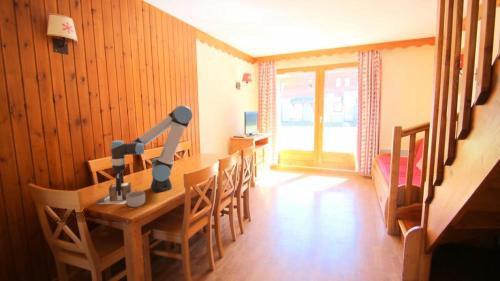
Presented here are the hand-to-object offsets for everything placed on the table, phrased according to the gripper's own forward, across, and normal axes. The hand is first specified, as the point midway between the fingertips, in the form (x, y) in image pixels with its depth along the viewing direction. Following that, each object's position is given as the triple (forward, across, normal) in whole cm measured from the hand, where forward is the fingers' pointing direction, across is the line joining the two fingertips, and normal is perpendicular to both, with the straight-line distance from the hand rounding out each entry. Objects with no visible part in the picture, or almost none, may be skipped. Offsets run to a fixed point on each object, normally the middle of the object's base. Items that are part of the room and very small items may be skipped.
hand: (121, 197), depth 168 cm
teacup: (+1, +14, +11) cm, 18 cm away
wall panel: (+1, -1, -2) cm, 2 cm away
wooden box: (0, 0, 0) cm, 0 cm away
